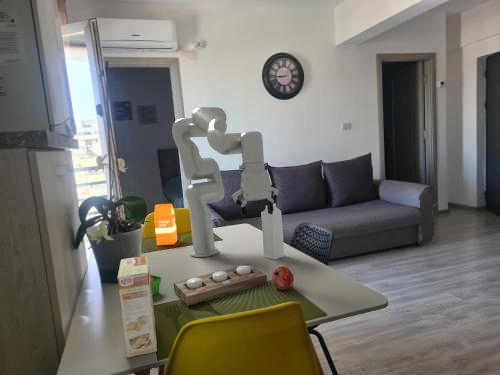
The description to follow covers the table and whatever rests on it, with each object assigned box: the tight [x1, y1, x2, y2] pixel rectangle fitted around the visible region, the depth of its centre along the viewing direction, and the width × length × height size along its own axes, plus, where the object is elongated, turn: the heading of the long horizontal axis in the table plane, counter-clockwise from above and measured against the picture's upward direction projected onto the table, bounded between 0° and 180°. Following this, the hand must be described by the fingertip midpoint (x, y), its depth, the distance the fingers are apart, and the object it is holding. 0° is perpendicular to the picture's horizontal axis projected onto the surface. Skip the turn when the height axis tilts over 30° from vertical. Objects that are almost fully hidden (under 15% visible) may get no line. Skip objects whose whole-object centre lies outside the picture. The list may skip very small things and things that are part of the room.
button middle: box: [213, 271, 227, 283], centre depth 120 cm, size 5×5×2 cm
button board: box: [173, 263, 268, 307], centre depth 120 cm, size 14×28×3 cm, turn 119°
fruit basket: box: [150, 274, 162, 296], centre depth 117 cm, size 11×9×11 cm
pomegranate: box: [271, 265, 295, 291], centre depth 116 cm, size 7×7×10 cm
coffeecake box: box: [117, 255, 158, 358], centre depth 90 cm, size 15×7×20 cm, turn 17°
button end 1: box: [187, 277, 202, 290], centre depth 116 cm, size 5×5×2 cm
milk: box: [260, 202, 285, 261], centre depth 147 cm, size 6×6×22 cm
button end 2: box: [237, 265, 251, 277], centre depth 125 cm, size 5×5×2 cm
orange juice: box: [153, 203, 178, 246], centre depth 182 cm, size 8×9×20 cm
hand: (257, 215), depth 127 cm, fingers open, 9 cm apart
